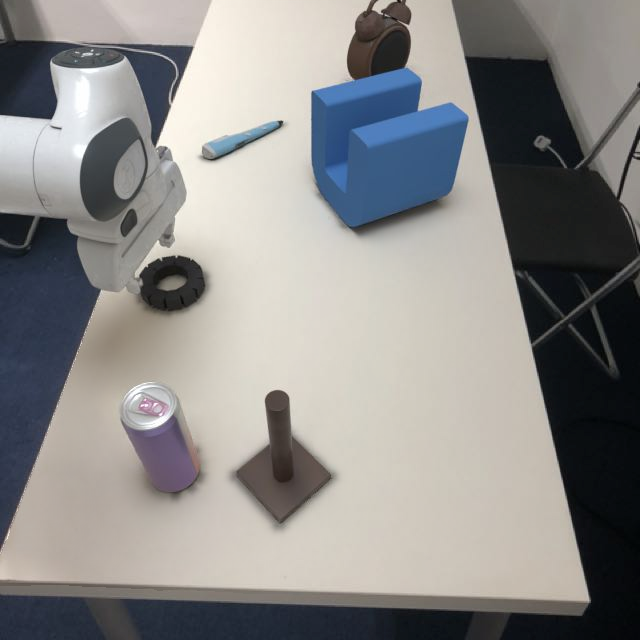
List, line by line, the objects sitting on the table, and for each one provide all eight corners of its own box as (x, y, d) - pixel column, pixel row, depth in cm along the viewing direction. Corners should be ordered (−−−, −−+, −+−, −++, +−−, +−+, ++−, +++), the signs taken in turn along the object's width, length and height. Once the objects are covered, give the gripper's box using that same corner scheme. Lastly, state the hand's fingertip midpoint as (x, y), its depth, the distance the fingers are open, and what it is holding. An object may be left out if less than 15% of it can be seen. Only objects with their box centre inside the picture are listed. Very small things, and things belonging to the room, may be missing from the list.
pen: (210, 163, 109) (208, 150, 106) (201, 156, 110) (199, 143, 108) (287, 127, 117) (287, 114, 115) (277, 121, 119) (277, 108, 116)
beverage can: (186, 501, 66) (159, 438, 54) (140, 485, 67) (105, 420, 55) (209, 456, 69) (188, 389, 58) (165, 442, 70) (137, 373, 59)
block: (447, 210, 100) (469, 116, 87) (359, 240, 95) (367, 146, 81) (393, 157, 111) (405, 66, 97) (311, 182, 105) (311, 89, 91)
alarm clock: (365, 107, 122) (373, 8, 107) (342, 94, 126) (347, -3, 111) (411, 85, 129) (424, -11, 114) (388, 73, 132) (398, -21, 117)
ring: (164, 321, 83) (161, 311, 81) (129, 286, 88) (125, 276, 86) (217, 288, 87) (215, 278, 86) (181, 256, 92) (178, 246, 90)
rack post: (280, 523, 64) (272, 453, 51) (236, 475, 68) (218, 398, 55) (331, 478, 68) (335, 401, 55) (286, 434, 71) (281, 353, 58)
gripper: (144, 134, 76) (165, 215, 86) (57, 232, 63) (94, 313, 74) (188, 142, 75) (203, 223, 85) (108, 244, 62) (138, 324, 73)
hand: (152, 266), depth 79 cm, fingers open, 8 cm apart
